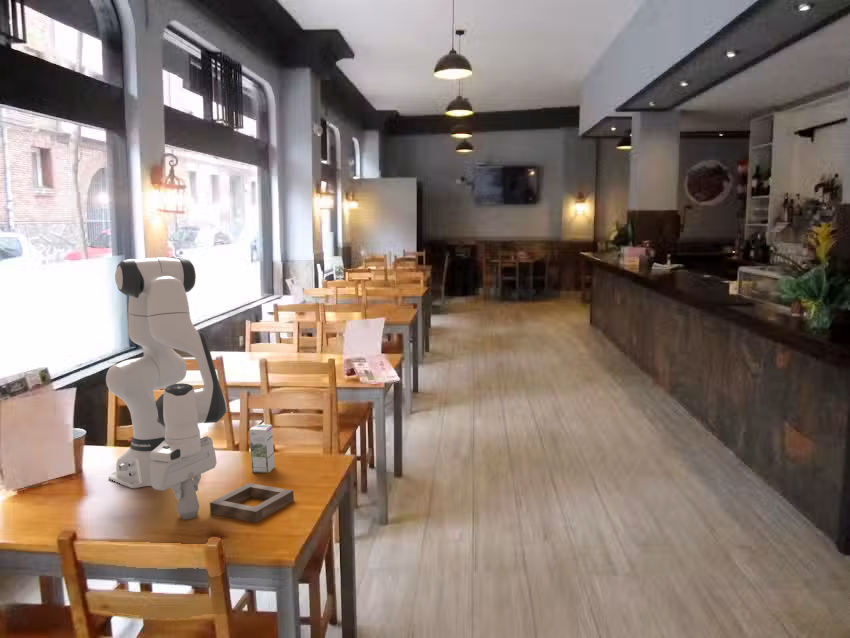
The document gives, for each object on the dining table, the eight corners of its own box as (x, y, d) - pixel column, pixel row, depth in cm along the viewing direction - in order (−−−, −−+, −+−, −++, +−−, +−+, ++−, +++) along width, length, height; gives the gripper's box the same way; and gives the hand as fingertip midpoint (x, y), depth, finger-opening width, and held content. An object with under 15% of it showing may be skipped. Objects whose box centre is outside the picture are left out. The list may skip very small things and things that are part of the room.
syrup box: (275, 467, 223) (272, 423, 221) (268, 473, 217) (265, 429, 216) (258, 466, 224) (255, 423, 222) (251, 473, 218) (248, 428, 216)
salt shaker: (192, 521, 182) (189, 474, 181) (173, 520, 183) (169, 473, 182) (203, 512, 188) (200, 466, 186) (184, 511, 189) (181, 466, 187)
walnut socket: (210, 513, 187) (209, 502, 187) (249, 492, 202) (249, 482, 201) (256, 522, 180) (255, 511, 180) (293, 500, 194) (293, 490, 194)
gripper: (203, 433, 194) (206, 480, 196) (144, 455, 176) (148, 506, 177) (219, 435, 191) (223, 483, 193) (162, 458, 173) (166, 510, 175)
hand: (187, 494), depth 185 cm, fingers closed on salt shaker, 4 cm apart
